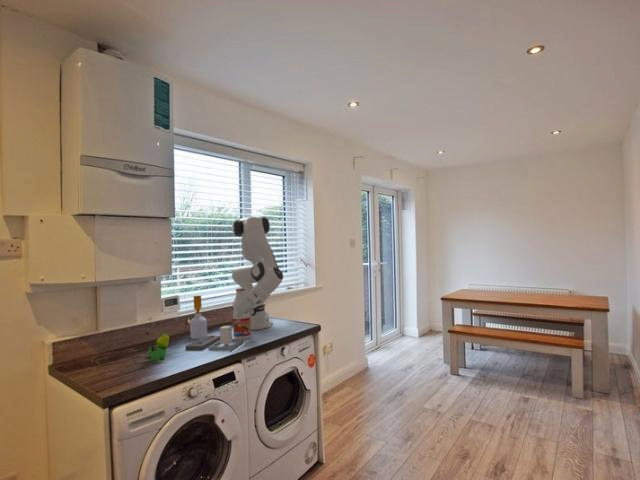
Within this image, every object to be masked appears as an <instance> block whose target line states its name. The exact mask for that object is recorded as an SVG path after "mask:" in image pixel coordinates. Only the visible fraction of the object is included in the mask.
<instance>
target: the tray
mask: <svg viewBox="0 0 640 480" xmlns="http://www.w3.org/2000/svg"><path fill="white" fill-rule="evenodd" d="M231 343H233V344H231V345H230V346H220V345H221V344H220V340H219V341H218V342H216V343H214V344H212V345H211V346H209V347H207V348H208V351H229V353H232V352H233V351H234V350H237V349H238V348H239V347H240V346H242V345H243V344H244V339H234V338H232V342H231Z"/></svg>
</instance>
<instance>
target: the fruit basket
mask: <svg viewBox="0 0 640 480" xmlns="http://www.w3.org/2000/svg"><path fill="white" fill-rule="evenodd" d="M169 340H170V337H169V334H168V333H163V334H162V335H161V336H160V337H158V339H157V340H156V342H155V343H156V344H155V345H150V347H149V350H148V354H149V357H150V360H151V363H154V362H159V361H160V362H161V361H164V360H165V356H166V352H167V348H168V345H169V342H170V341H169Z"/></svg>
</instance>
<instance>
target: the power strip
mask: <svg viewBox="0 0 640 480" xmlns="http://www.w3.org/2000/svg"><path fill="white" fill-rule="evenodd" d="M218 341H220V335H215V334H211V335H207V336H204V337H202V338H199V339H197V340H195V341H193V342H191V343H188V344H187V345H185V351H203V350H205V349H207V348H208V347H209V346H211V345H213V344H215V343H216V342H218Z"/></svg>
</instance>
